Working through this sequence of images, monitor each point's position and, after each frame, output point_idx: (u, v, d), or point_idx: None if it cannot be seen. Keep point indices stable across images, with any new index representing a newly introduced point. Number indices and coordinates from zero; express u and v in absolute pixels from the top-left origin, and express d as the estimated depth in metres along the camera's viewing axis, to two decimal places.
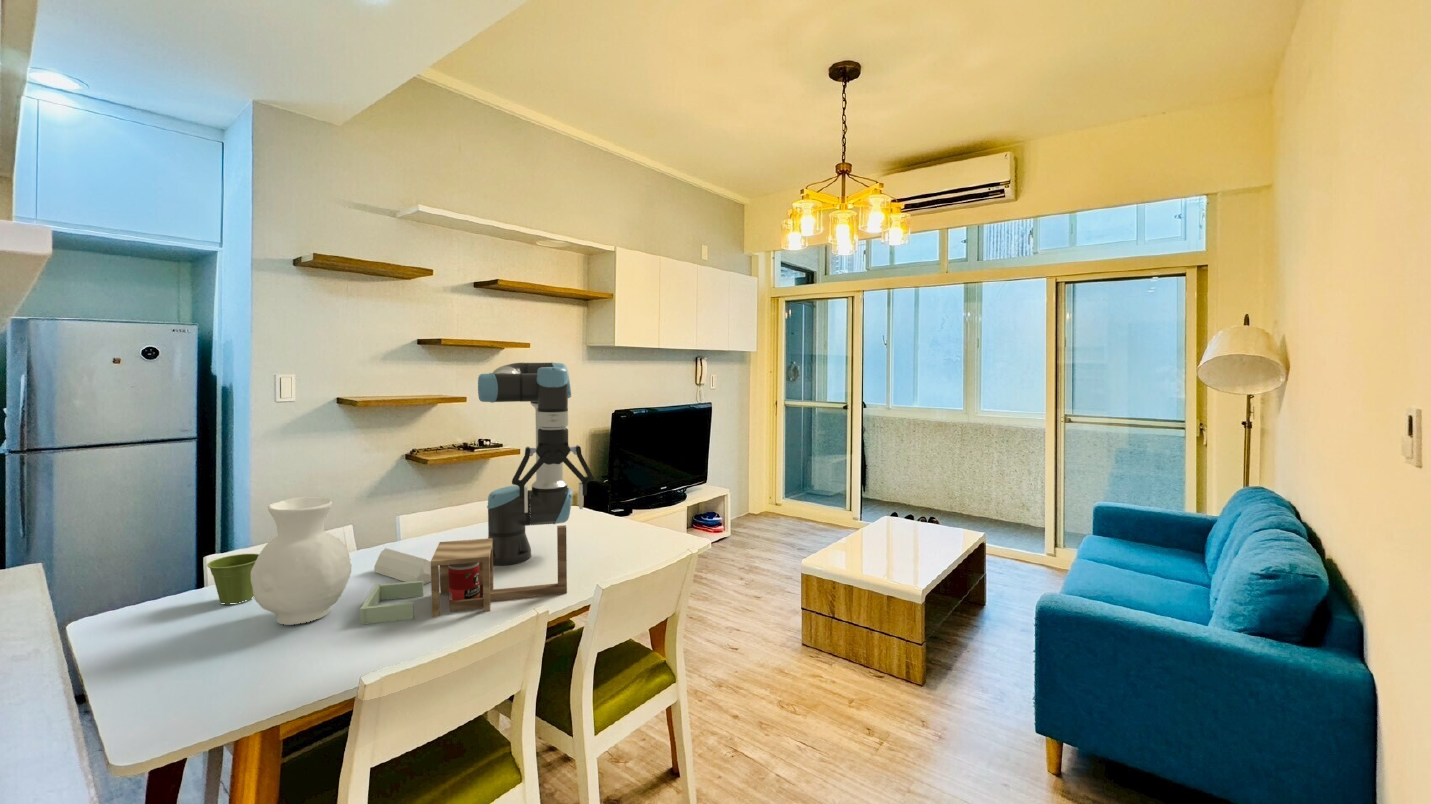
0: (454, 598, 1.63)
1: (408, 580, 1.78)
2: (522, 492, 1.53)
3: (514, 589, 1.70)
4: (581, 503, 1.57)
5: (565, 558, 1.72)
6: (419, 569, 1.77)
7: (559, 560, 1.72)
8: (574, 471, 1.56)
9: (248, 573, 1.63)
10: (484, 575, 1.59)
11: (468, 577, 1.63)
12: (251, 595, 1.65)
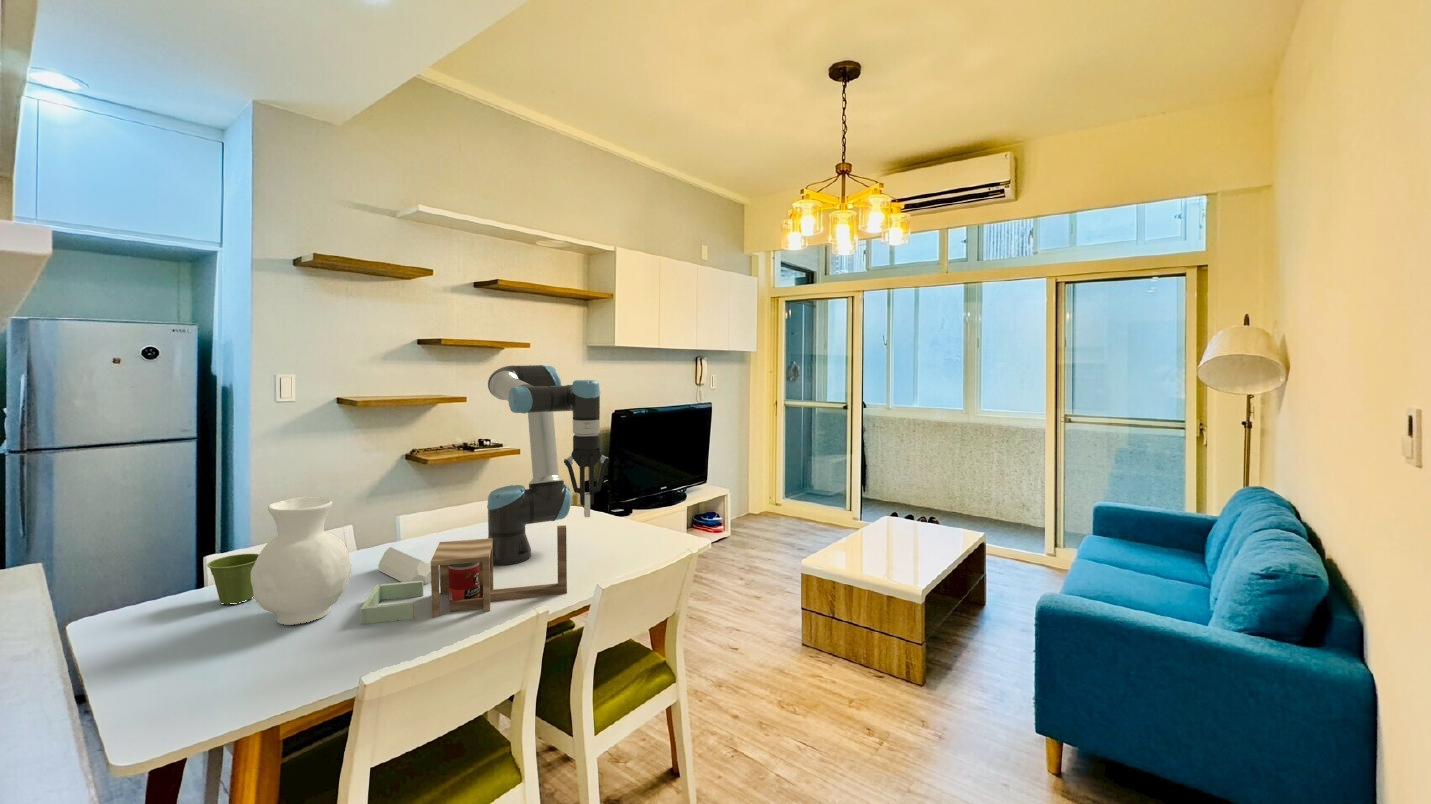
0: (454, 598, 1.63)
1: (404, 581, 1.78)
2: (582, 499, 1.72)
3: (514, 589, 1.70)
4: (589, 512, 1.73)
5: (565, 558, 1.72)
6: (414, 570, 1.76)
7: (559, 560, 1.72)
8: (591, 479, 1.72)
9: (248, 573, 1.63)
10: (484, 575, 1.59)
11: (468, 577, 1.63)
12: (251, 595, 1.65)
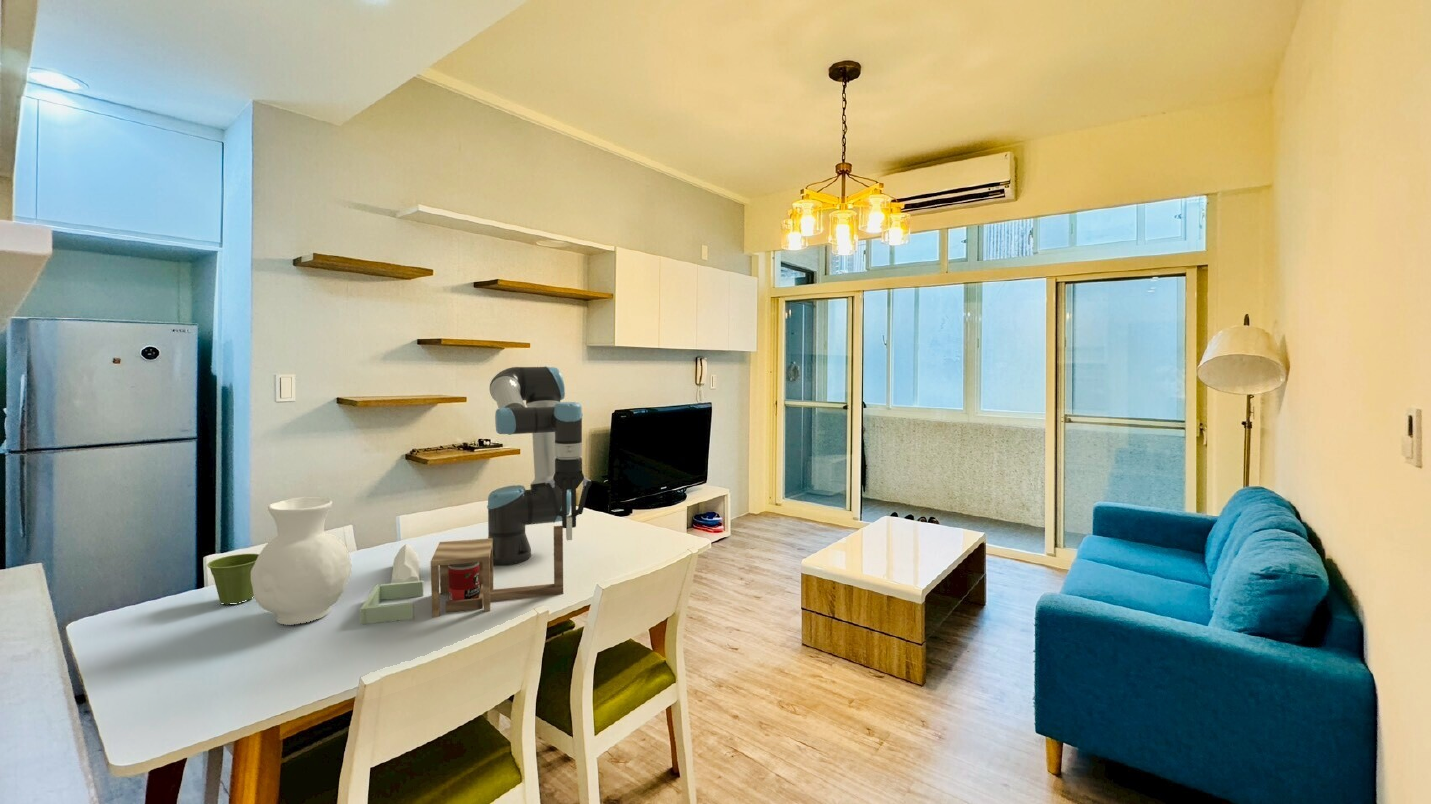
0: (454, 598, 1.63)
1: (391, 581, 1.77)
2: (564, 522, 1.72)
3: (510, 589, 1.70)
4: (571, 534, 1.72)
5: (561, 558, 1.72)
6: (396, 573, 1.74)
7: (555, 560, 1.71)
8: (573, 502, 1.72)
9: (248, 573, 1.63)
10: (484, 575, 1.59)
11: (468, 577, 1.63)
12: (251, 595, 1.65)
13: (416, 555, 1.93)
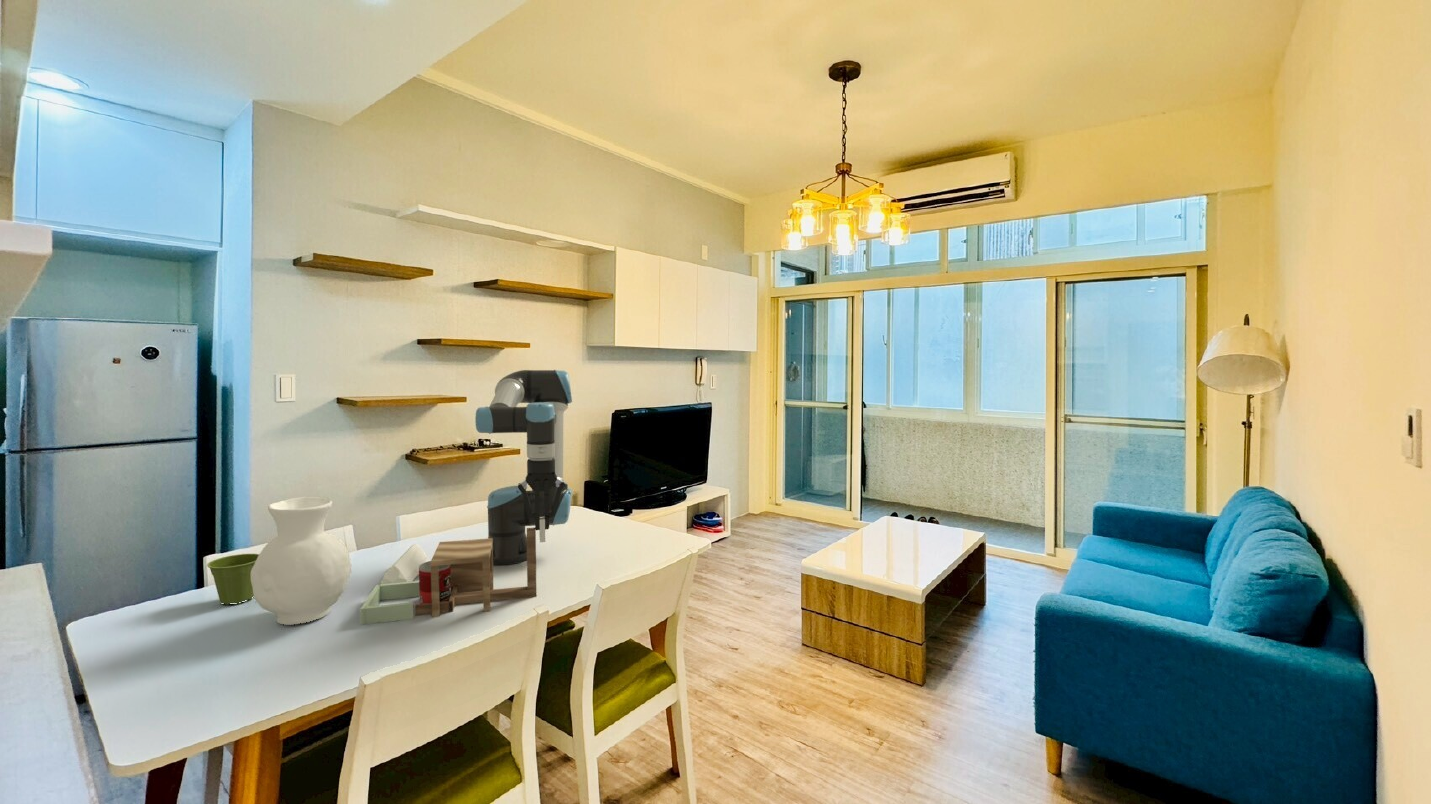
0: (424, 601, 1.61)
1: None
2: (537, 524, 1.70)
3: (482, 592, 1.68)
4: (544, 536, 1.70)
5: (534, 561, 1.70)
6: None
7: (528, 563, 1.69)
8: (546, 503, 1.69)
9: (248, 573, 1.63)
10: (484, 575, 1.59)
11: None
12: (251, 595, 1.65)
13: (423, 555, 1.93)
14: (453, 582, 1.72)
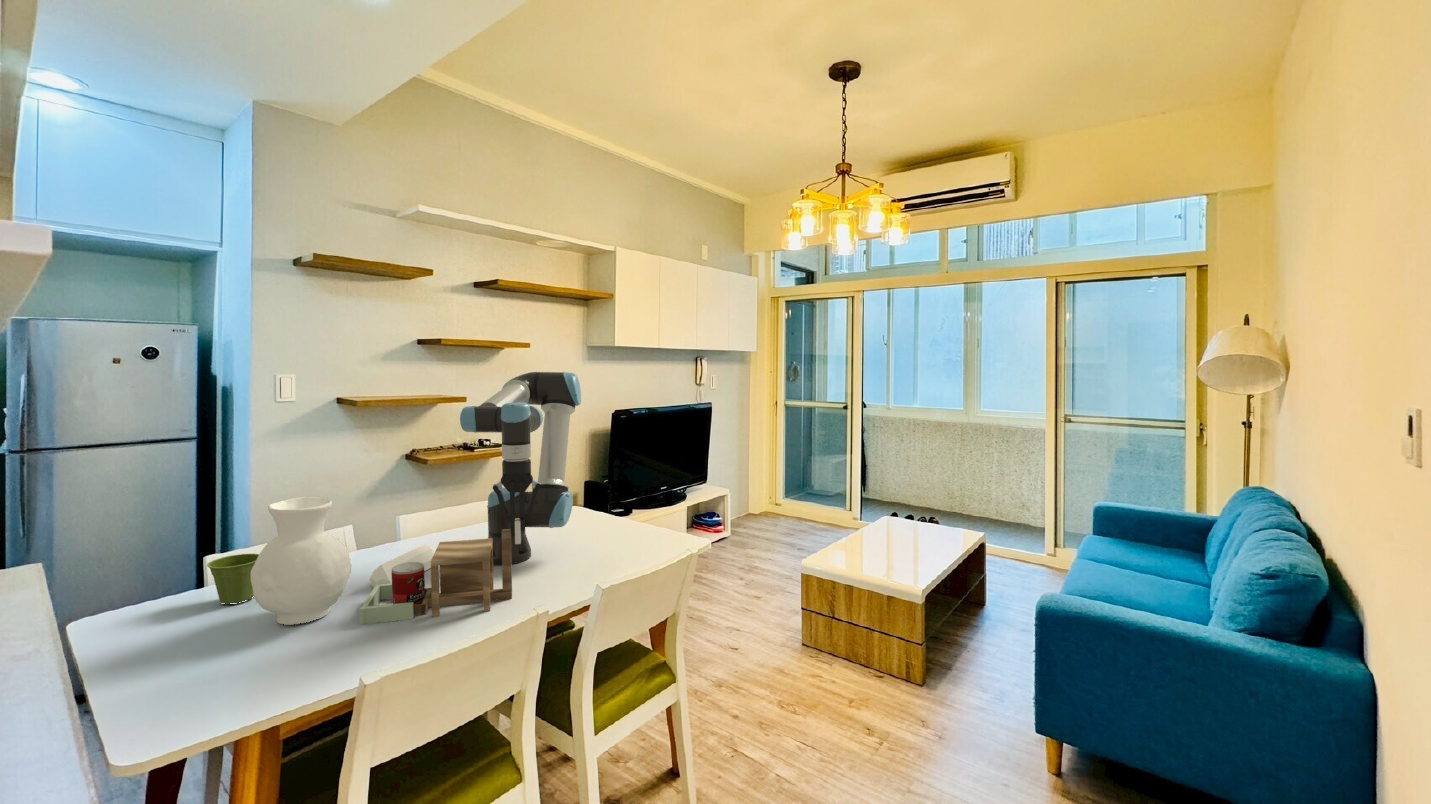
0: (396, 603, 1.59)
1: None
2: (512, 525, 1.68)
3: (457, 595, 1.66)
4: (519, 538, 1.68)
5: (510, 563, 1.68)
6: None
7: (503, 565, 1.67)
8: (521, 504, 1.67)
9: (248, 573, 1.63)
10: (484, 575, 1.59)
11: (410, 582, 1.59)
12: (251, 595, 1.65)
13: (432, 557, 1.92)
14: (453, 582, 1.72)
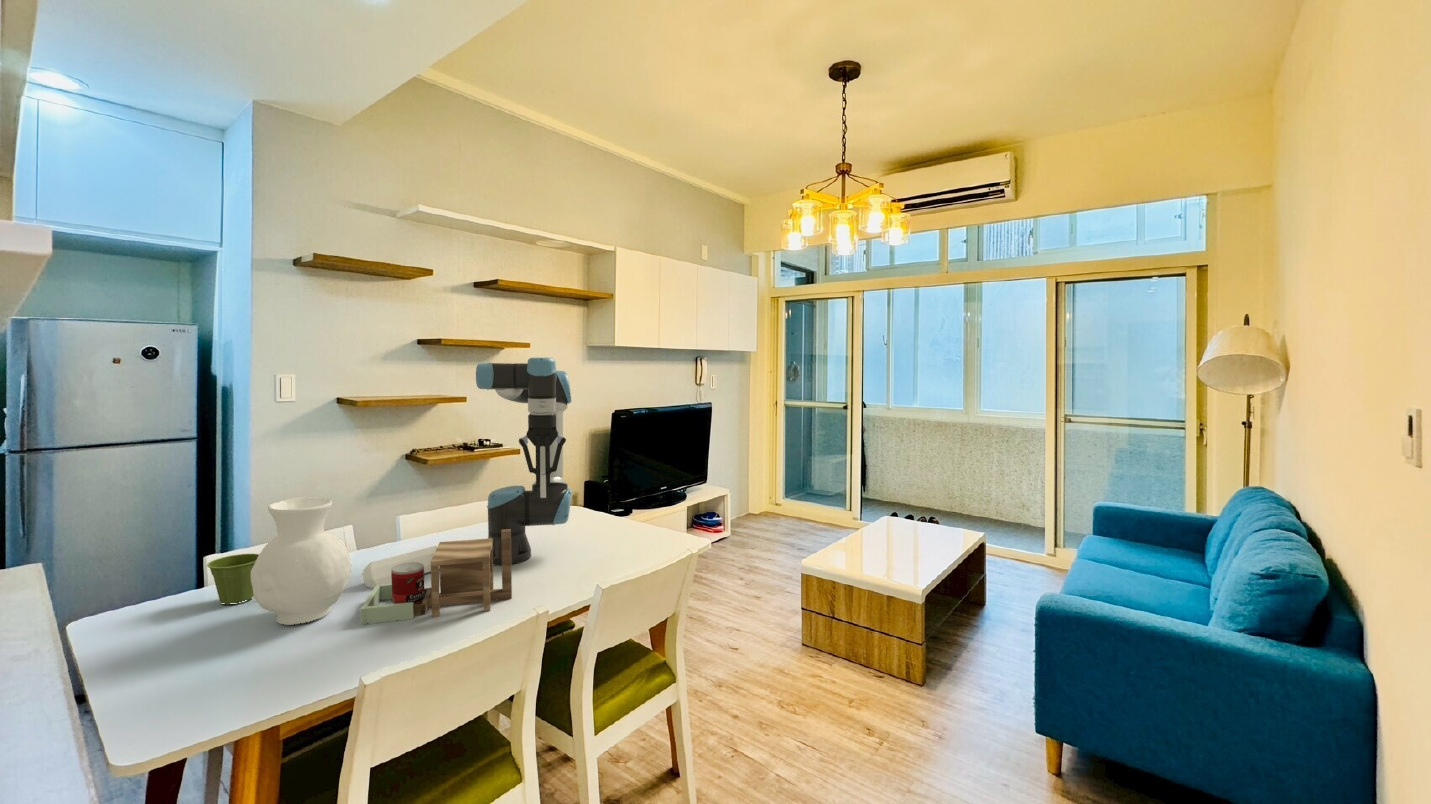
0: (396, 603, 1.59)
1: None
2: (538, 479, 1.69)
3: (456, 595, 1.66)
4: (544, 492, 1.69)
5: (509, 563, 1.68)
6: None
7: (503, 565, 1.67)
8: (547, 458, 1.69)
9: (248, 573, 1.63)
10: (484, 575, 1.59)
11: (410, 582, 1.59)
12: (251, 595, 1.65)
13: None
14: (453, 582, 1.72)
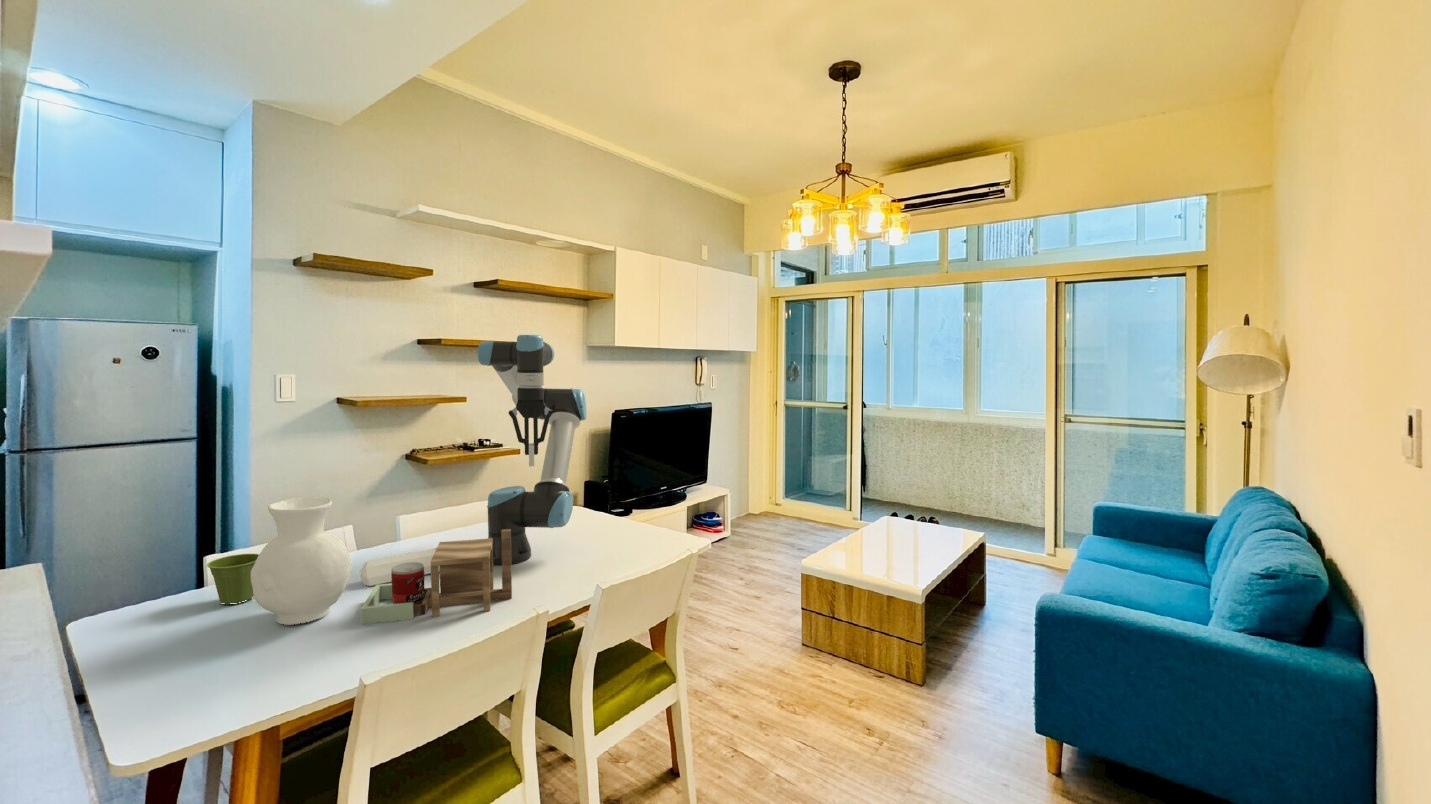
0: (396, 603, 1.59)
1: None
2: (527, 449, 1.81)
3: (456, 595, 1.66)
4: (533, 461, 1.81)
5: (509, 563, 1.68)
6: None
7: (503, 565, 1.67)
8: (535, 429, 1.80)
9: (248, 573, 1.63)
10: (484, 575, 1.59)
11: (410, 582, 1.59)
12: (251, 595, 1.65)
13: None
14: (453, 582, 1.72)
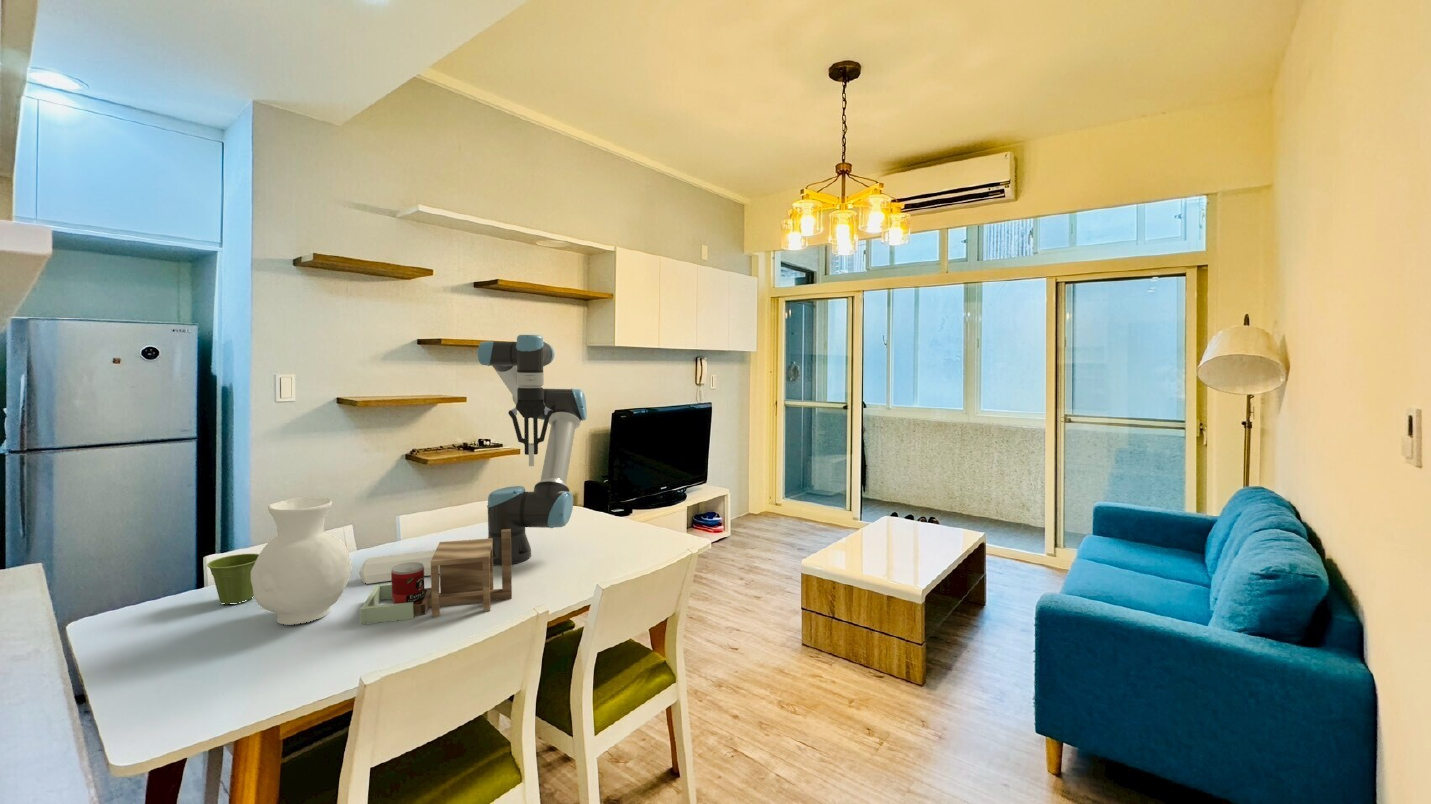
0: (396, 603, 1.59)
1: None
2: (526, 449, 1.81)
3: (456, 595, 1.66)
4: (533, 461, 1.81)
5: (509, 563, 1.68)
6: None
7: (503, 565, 1.67)
8: (534, 429, 1.80)
9: (248, 573, 1.63)
10: (484, 575, 1.59)
11: (410, 582, 1.59)
12: (251, 595, 1.65)
13: None
14: (453, 582, 1.72)
